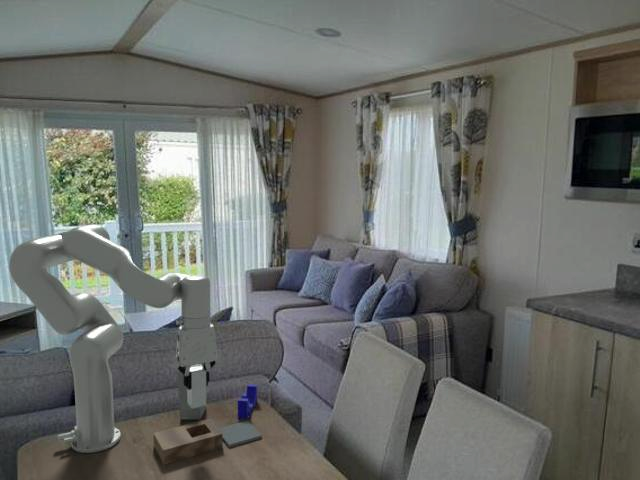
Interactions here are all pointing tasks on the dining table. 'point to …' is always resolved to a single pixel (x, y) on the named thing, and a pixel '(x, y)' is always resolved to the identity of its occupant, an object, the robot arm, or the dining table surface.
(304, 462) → the dining table surface
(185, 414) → the skincare box
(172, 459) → the wooden block with hole
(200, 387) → the steel bar
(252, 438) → the rubber mat
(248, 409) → the cable clip
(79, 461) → the dining table surface
